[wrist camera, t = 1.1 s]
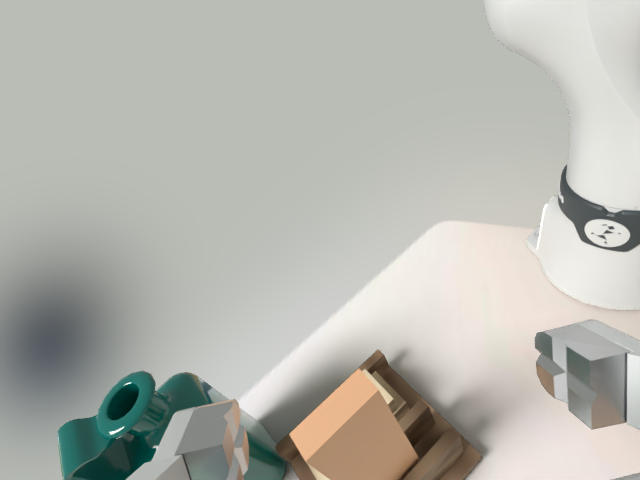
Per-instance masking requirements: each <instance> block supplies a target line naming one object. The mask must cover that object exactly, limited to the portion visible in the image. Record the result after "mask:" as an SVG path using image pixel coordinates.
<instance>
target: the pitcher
mask: <svg viewBox="0 0 640 480" xmlns="http://www.w3.org/2000/svg"><path fill="white" fill-rule="evenodd" d="M228 400H229V399H227V398H226V397H225V396H223V395H222V394H221V393H219V392H218V391H217V390H215V389H214V388H213V387H211V386H210V385H209V384H207V383H206V382H205V381H203V380H202V379H201V378H199V377H198V376H196V375H194V374H192V373H187V372H185V373H178V374H176V375H174V376H172V377H170V378H169V379H168V380H167V381H166V382H165V383H164V384H163V385H161V387H159V388H158V389H157V390H156V391H155V381H154V379H153V377H152V375H151V374H149V373H147V372H145V371H139V372H133V373H131V374H129V375H127V376H126V377H124V378H122V379H121V380H120V381H119V382H118V383H116V384H115V385H114V386H113V387H112V388H111V390H110V391H109V392H108V394H107V395H106V396H105V397H104V399H103V401H102V403H101V405H100V407H99V409H98V413H97V415H96V416H93V417H91V418H84V419H75V420H72V421H69V422H68V423H66V424H64V425H63V426H62V427H61V428H60V429H59V430H58V433H57V440H58V447H59V455H60V463H61V470H62V477H63V480H126V479H127V478H128V477H129V476H130V475H132V474H133V473H134V472H135V471H136V470H137V469H138V468H140V467H141V466H142V465H143V464H144V463H147V462H151V461H152V459H153V457H154V455H155V452H156V450H157V448H158V446H159V444H160V442H161V440H162V438H163V436H164V434H165V431H166V429H167V427H168V425H169V423H170V421H171V419H172V417H173V415H174V413H176V412H177V411H180V410H184V409H188V408H193V407H198V406H203V405H208V404H213V403H218V402H223V401H228ZM240 411H241V417H240V422H239V424H240V425H242V426H243V427H244V428H245V430H246V434H247V438H248V445H249V464H248V470H247V471H246V473H245V474H244V475H243V478H244V480H282V478H283V475H284V473H285V467H286V461H285V459H284V458H282V457H281V456H280V455H278V453H277V451H276V449H275V446H276V445H277V444H276V443H275V441H274V440H273V439H272V437H271V436H270V435H269V433H268V432H267V430H266V429H265V428H264V426H263V425H262V424H261V423H259V422H258V421H257V420H255V419H254V418H253V417H251V416H250V415H249V414H247V413H246V412H245V411H243V410H242V409H241V408H240ZM119 436H121V437H120V438H118V437H119ZM116 438H118V439H116Z"/></svg>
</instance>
